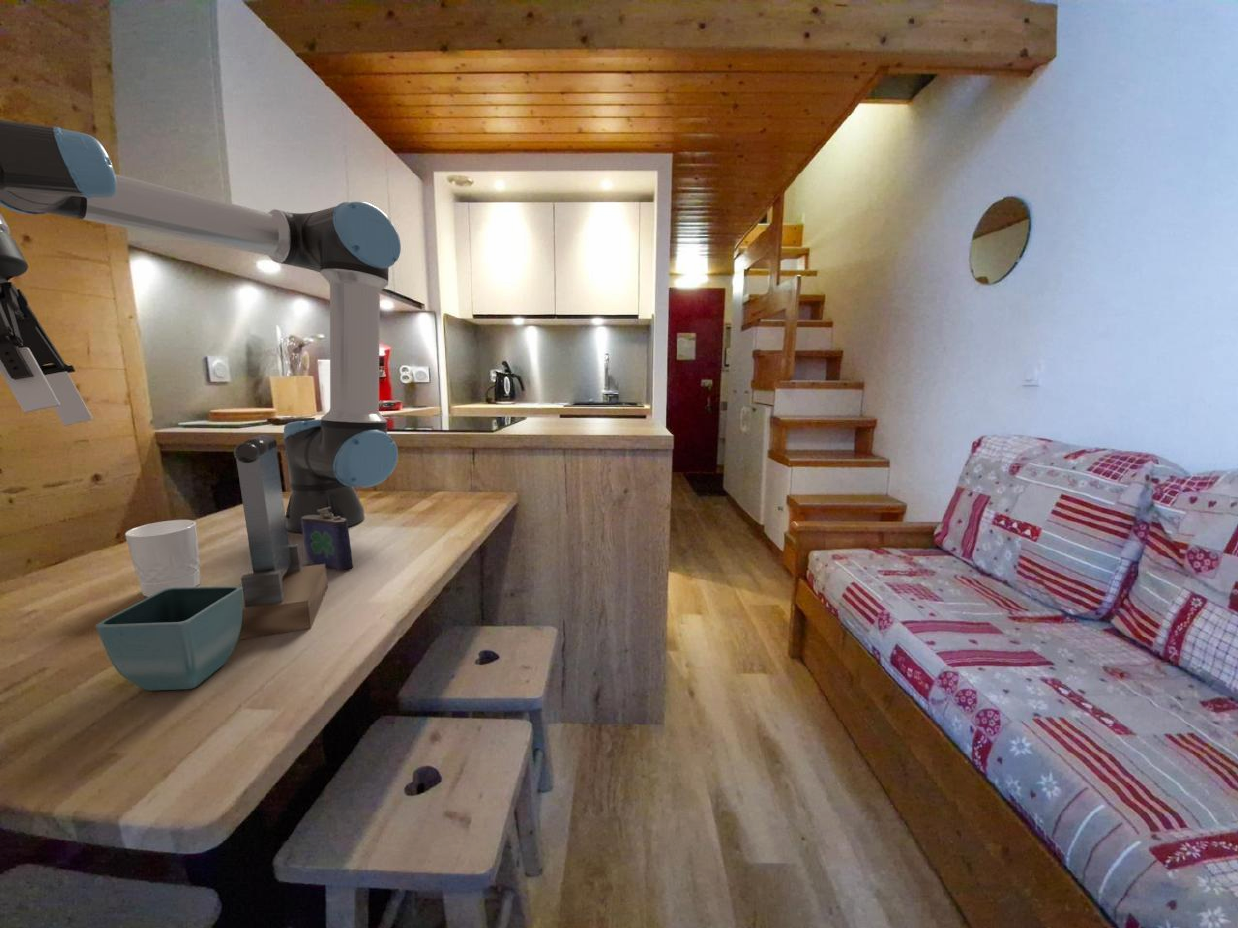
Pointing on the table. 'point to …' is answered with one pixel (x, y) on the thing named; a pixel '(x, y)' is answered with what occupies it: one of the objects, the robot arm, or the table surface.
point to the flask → (327, 540)
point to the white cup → (165, 555)
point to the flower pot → (174, 636)
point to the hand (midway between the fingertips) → (62, 416)
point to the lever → (263, 504)
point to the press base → (282, 598)
